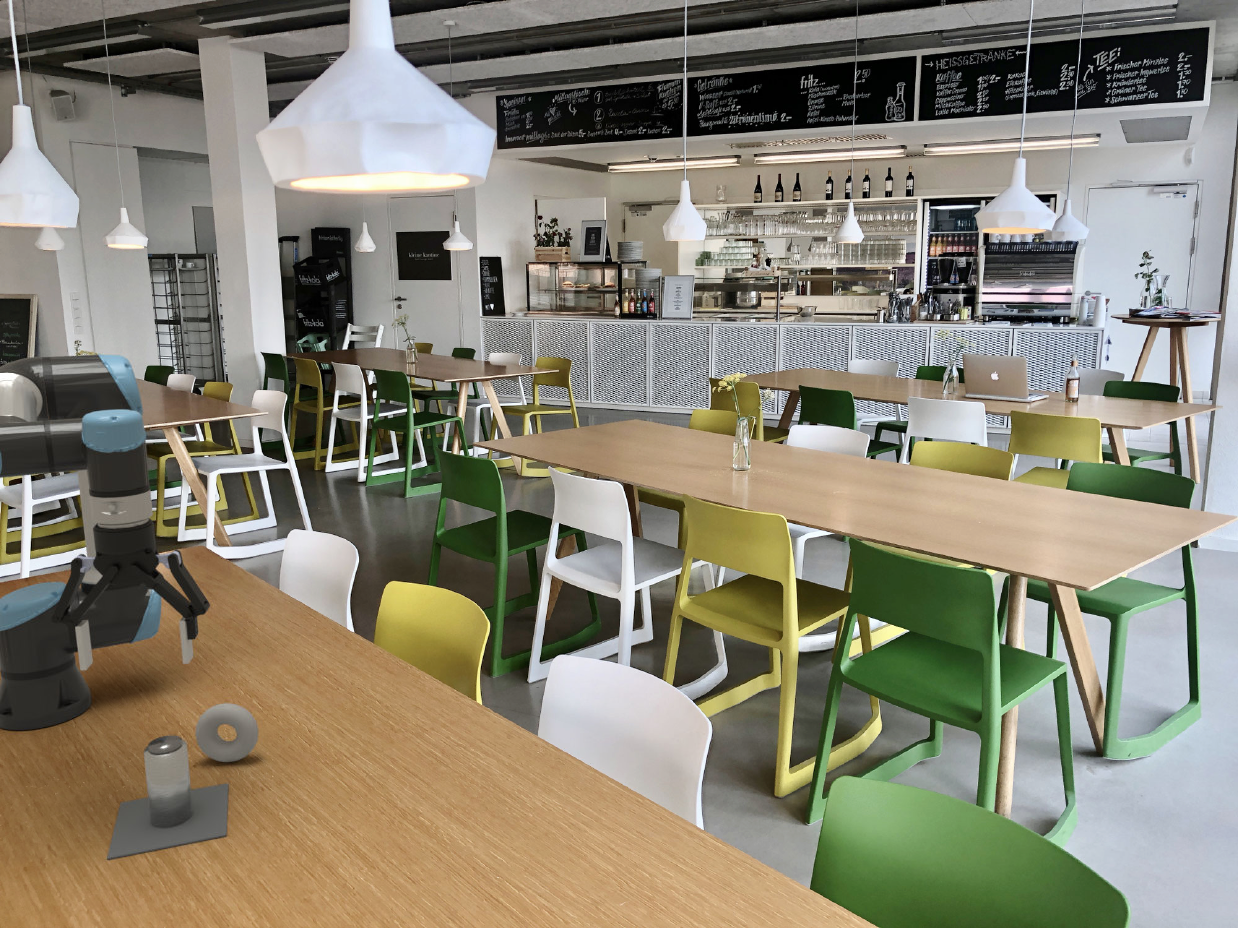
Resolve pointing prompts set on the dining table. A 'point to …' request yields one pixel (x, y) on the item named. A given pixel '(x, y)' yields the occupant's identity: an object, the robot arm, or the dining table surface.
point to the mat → (142, 837)
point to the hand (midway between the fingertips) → (137, 663)
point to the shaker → (168, 781)
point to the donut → (222, 748)
